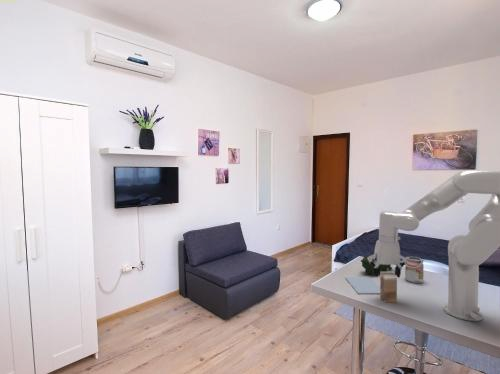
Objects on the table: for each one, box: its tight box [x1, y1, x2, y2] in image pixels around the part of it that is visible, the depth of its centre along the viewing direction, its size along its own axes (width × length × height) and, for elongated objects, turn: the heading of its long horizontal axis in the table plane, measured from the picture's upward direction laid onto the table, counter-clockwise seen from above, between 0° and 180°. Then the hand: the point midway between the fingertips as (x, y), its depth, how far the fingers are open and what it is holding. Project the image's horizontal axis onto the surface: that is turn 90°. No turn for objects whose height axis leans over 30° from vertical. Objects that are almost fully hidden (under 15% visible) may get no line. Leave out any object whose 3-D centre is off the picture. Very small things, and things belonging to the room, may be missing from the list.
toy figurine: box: [360, 254, 393, 276], centre depth 155 cm, size 9×19×25 cm
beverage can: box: [404, 256, 424, 284], centre depth 142 cm, size 9×8×12 cm
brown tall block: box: [379, 271, 398, 303], centre depth 122 cm, size 5×5×12 cm
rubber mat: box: [344, 276, 380, 295], centre depth 138 cm, size 20×13×1 cm, turn 178°
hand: (386, 276), depth 122 cm, fingers open, 9 cm apart
